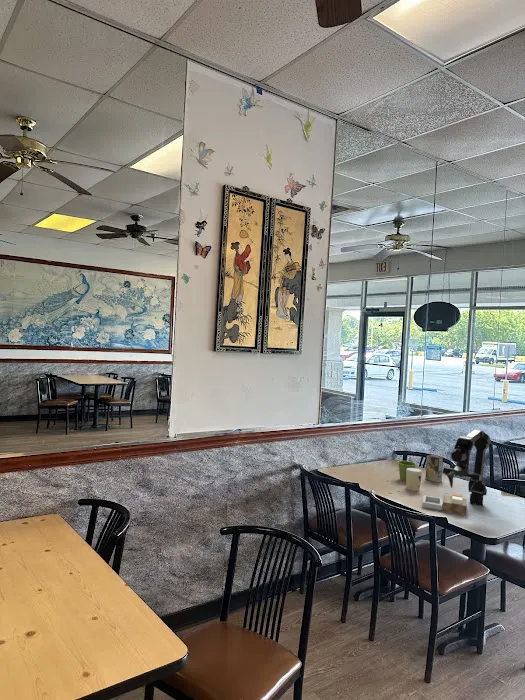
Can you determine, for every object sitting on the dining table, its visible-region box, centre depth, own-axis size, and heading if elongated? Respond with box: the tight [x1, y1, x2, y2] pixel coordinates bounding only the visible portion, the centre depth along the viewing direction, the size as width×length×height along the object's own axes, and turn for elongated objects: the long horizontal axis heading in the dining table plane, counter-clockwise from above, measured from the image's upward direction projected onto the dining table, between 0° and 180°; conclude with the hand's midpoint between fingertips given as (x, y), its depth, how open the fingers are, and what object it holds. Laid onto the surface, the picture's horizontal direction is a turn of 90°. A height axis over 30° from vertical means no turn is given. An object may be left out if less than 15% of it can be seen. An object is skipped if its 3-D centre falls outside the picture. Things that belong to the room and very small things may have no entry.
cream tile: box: [451, 495, 463, 505], centre depth 265 cm, size 5×5×2 cm
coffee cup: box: [405, 468, 423, 492], centre depth 302 cm, size 9×9×12 cm
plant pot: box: [397, 460, 417, 482], centre depth 322 cm, size 12×12×11 cm
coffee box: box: [424, 454, 444, 483], centre depth 326 cm, size 9×6×16 cm
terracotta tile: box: [451, 492, 463, 498], centre depth 271 cm, size 5×5×2 cm
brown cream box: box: [441, 494, 468, 516], centre depth 269 cm, size 12×14×5 cm
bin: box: [421, 494, 443, 512], centre depth 273 cm, size 10×14×3 cm
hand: (460, 489), depth 263 cm, fingers open, 9 cm apart
